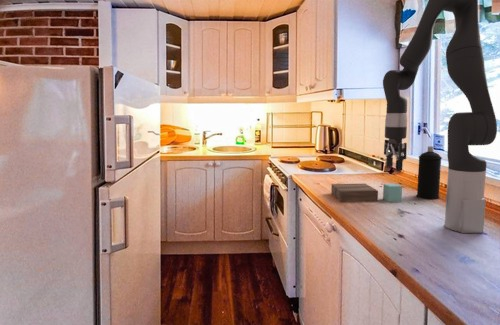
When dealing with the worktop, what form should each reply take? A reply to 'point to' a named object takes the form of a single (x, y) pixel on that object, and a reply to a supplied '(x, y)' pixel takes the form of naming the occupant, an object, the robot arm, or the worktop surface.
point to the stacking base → (354, 192)
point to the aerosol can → (429, 175)
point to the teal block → (392, 193)
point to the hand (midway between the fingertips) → (393, 168)
